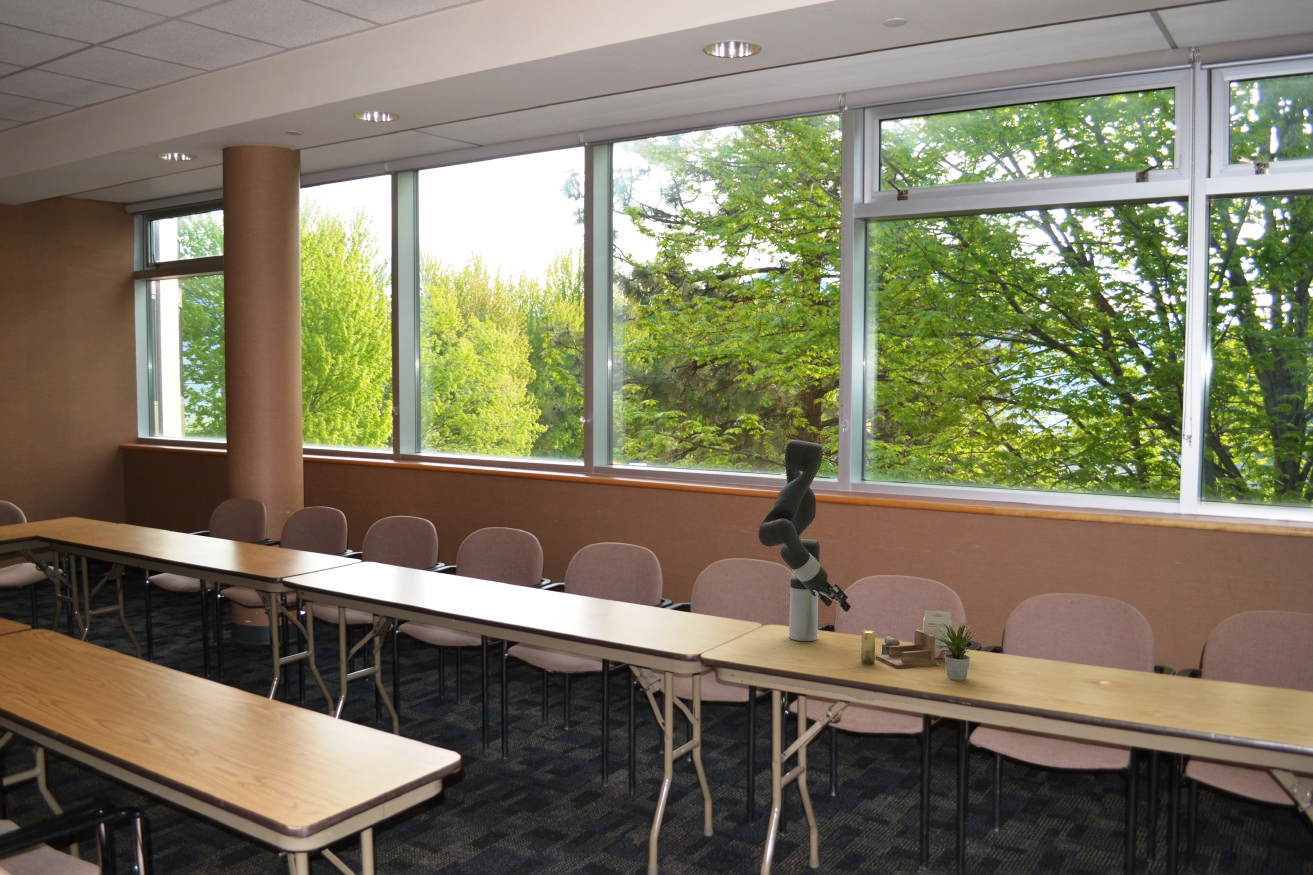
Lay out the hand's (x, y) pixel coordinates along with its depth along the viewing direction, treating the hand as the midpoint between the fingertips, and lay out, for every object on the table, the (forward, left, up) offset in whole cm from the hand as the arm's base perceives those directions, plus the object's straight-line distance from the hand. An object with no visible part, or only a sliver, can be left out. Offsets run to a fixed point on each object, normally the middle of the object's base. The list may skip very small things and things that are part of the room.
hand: (838, 606), depth 288 cm
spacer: (-2, +11, -18) cm, 22 cm away
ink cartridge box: (-3, +36, -18) cm, 41 cm away
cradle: (-2, +23, -18) cm, 30 cm away
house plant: (+18, +28, -18) cm, 38 cm away
